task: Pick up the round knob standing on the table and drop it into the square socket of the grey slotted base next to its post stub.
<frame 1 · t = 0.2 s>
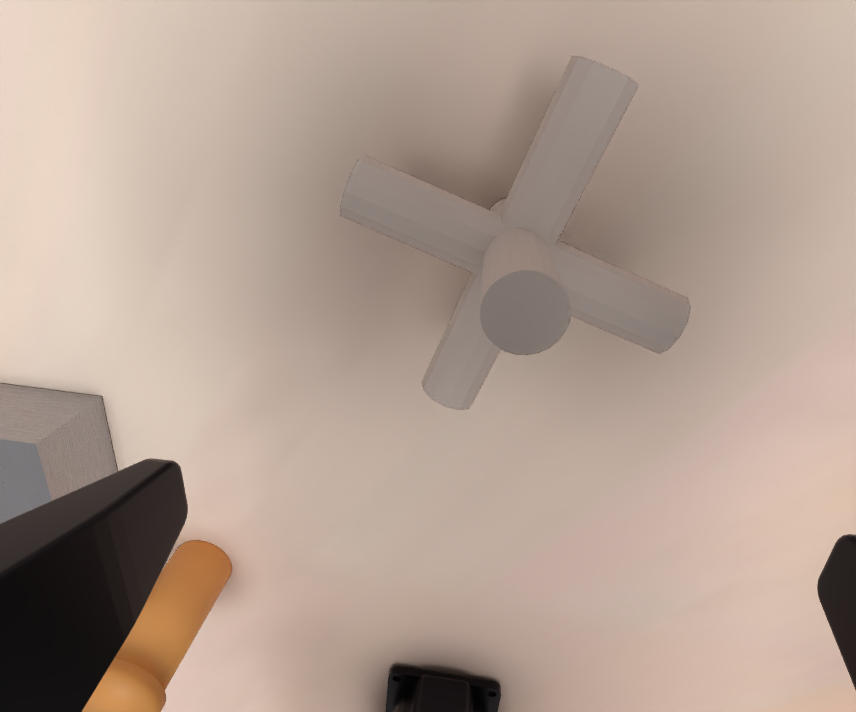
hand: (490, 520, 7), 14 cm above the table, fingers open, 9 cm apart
pipe connector: (509, 221, 20), on the table
grey slotted base: (15, 480, 28), on the table
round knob: (203, 562, 29), on the table
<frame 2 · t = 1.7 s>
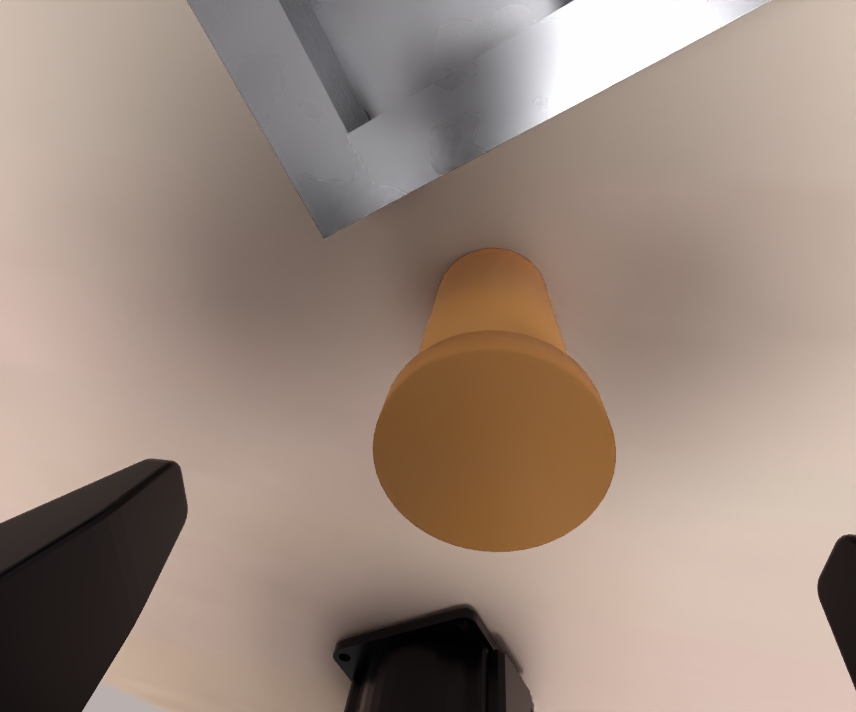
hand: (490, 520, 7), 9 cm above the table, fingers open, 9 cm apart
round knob: (491, 302, 15), on the table
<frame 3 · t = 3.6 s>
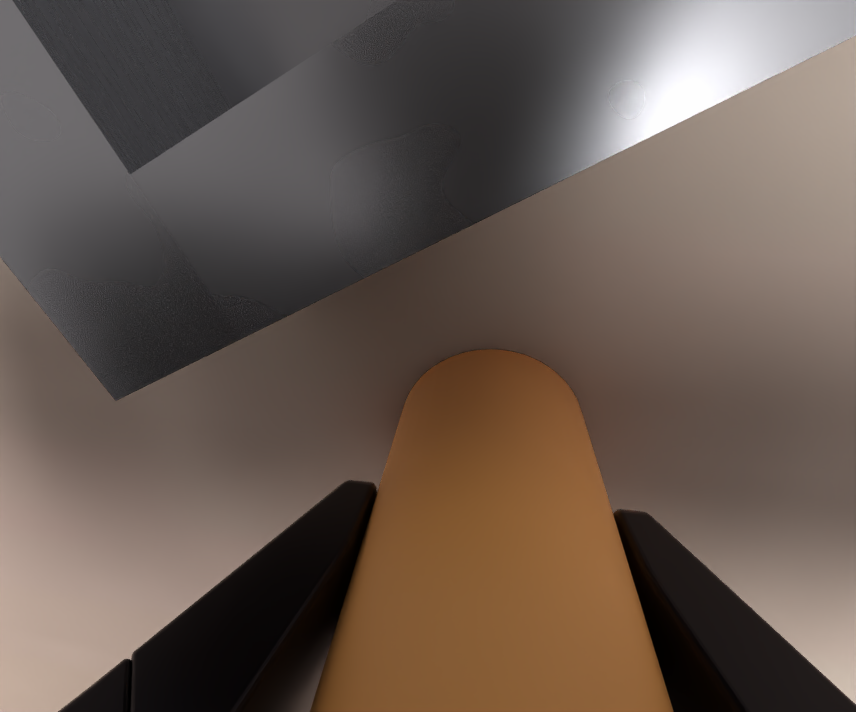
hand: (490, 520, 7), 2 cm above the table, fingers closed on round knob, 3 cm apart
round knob: (490, 432, 9), on the table, touching gripper
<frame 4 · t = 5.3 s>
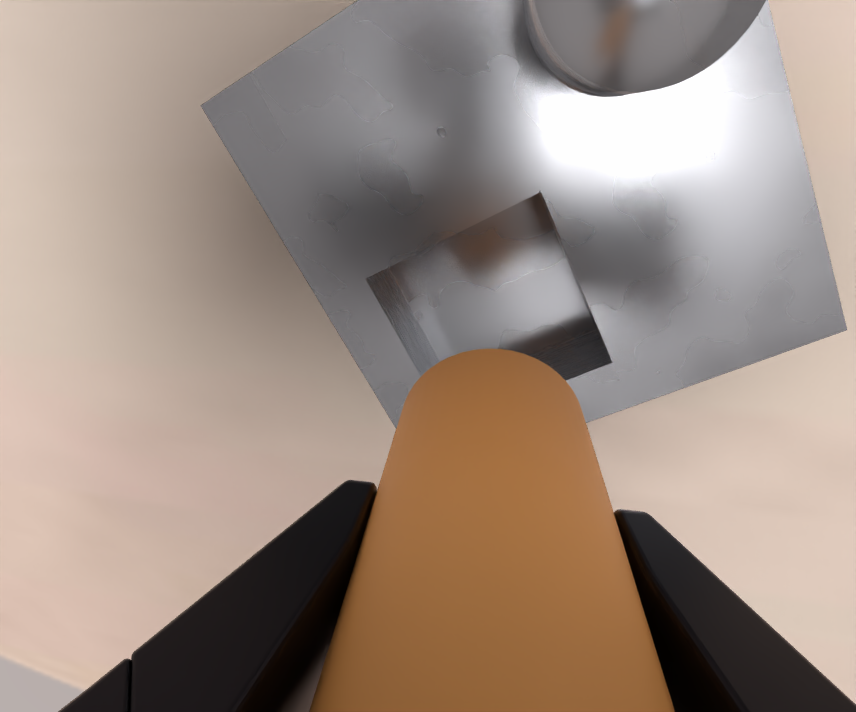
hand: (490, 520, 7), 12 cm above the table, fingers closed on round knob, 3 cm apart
grey slotted base: (521, 197, 17), on the table
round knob: (490, 432, 9), point 9 cm above the table, touching gripper
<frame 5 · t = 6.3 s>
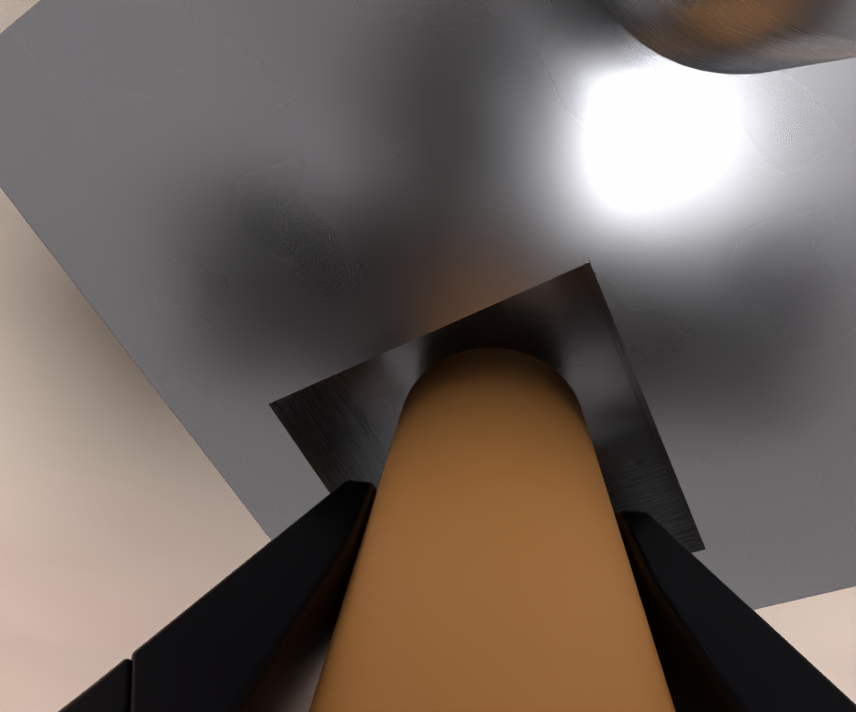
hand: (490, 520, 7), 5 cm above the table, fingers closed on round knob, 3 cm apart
grey slotted base: (540, 245, 10), on the table
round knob: (490, 431, 9), point 3 cm above the table, touching gripper
when the fingers open (4 cm above the table, at t = 7.0 s): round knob stays where it is, resting on grey slotted base.
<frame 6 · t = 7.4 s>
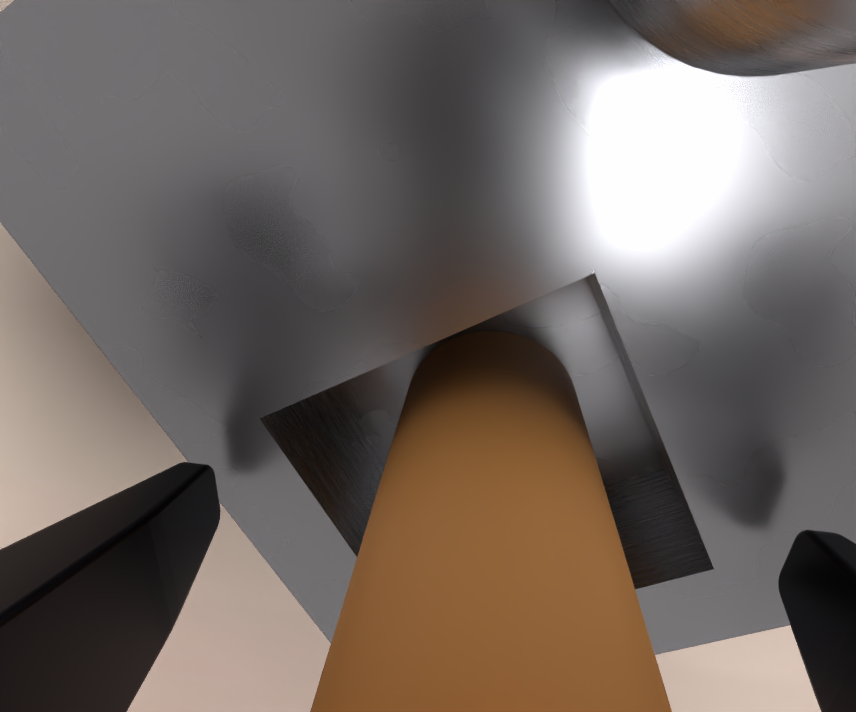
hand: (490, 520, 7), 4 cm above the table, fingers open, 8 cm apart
grey slotted base: (542, 251, 10), on the table
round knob: (490, 409, 10), point 2 cm above the table, touching grey slotted base
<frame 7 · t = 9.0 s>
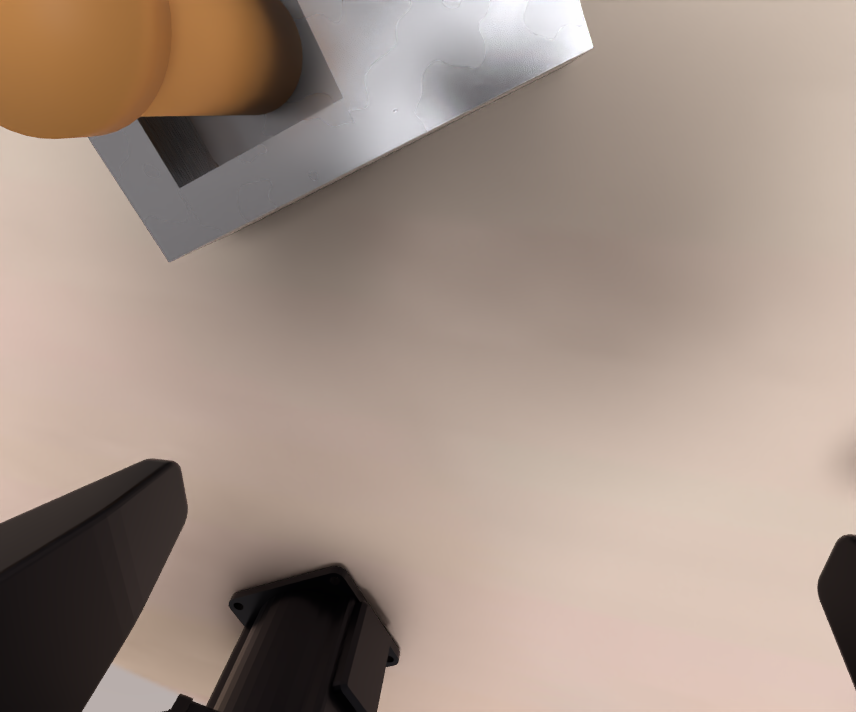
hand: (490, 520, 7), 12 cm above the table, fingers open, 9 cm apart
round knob: (246, 51, 14), point 1 cm above the table, touching grey slotted base
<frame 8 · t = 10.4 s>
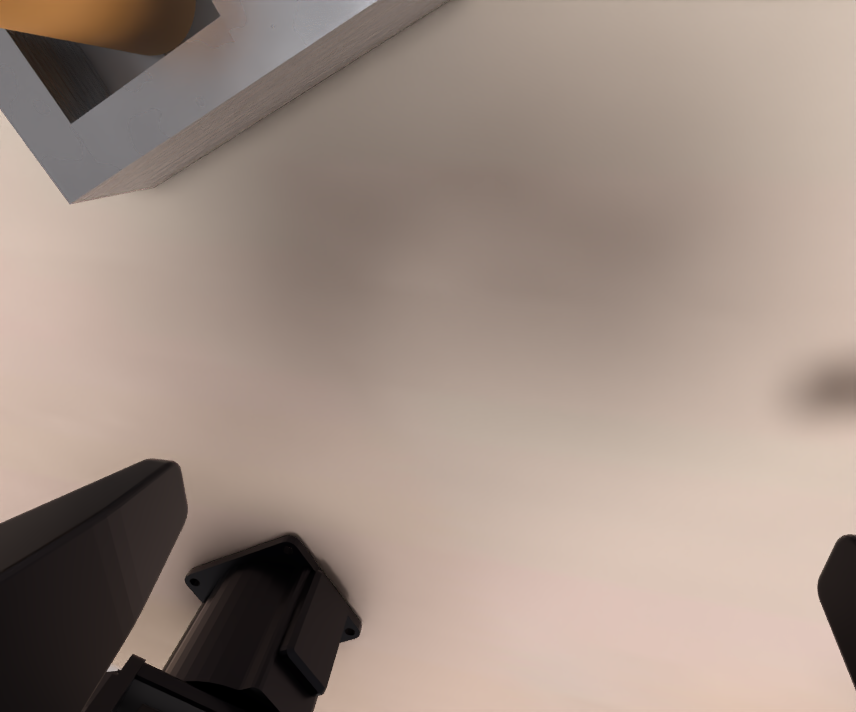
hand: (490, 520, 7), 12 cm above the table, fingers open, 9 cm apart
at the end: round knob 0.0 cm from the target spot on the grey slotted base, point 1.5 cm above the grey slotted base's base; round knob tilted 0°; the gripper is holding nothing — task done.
